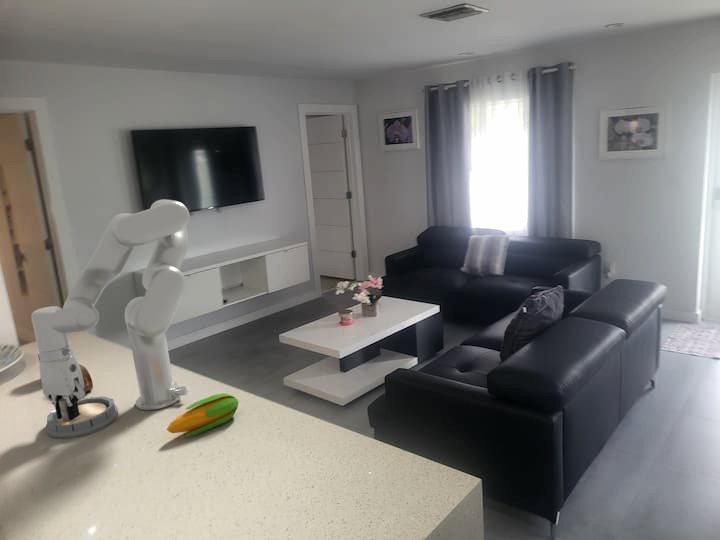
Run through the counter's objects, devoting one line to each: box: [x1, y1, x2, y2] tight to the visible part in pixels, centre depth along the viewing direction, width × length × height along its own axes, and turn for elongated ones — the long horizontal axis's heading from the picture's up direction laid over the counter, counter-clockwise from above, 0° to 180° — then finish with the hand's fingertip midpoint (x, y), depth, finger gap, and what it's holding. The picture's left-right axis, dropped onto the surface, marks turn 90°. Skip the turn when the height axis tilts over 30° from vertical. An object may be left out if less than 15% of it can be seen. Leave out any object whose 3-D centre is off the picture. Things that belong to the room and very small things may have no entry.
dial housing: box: [45, 396, 119, 440], centre depth 153 cm, size 18×18×4 cm
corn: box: [166, 393, 240, 438], centre depth 144 cm, size 7×8×20 cm
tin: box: [78, 363, 94, 393], centre depth 176 cm, size 15×3×8 cm, turn 49°
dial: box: [57, 396, 106, 423], centre depth 152 cm, size 12×12×7 cm
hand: (68, 416), depth 149 cm, fingers open, 3 cm apart
